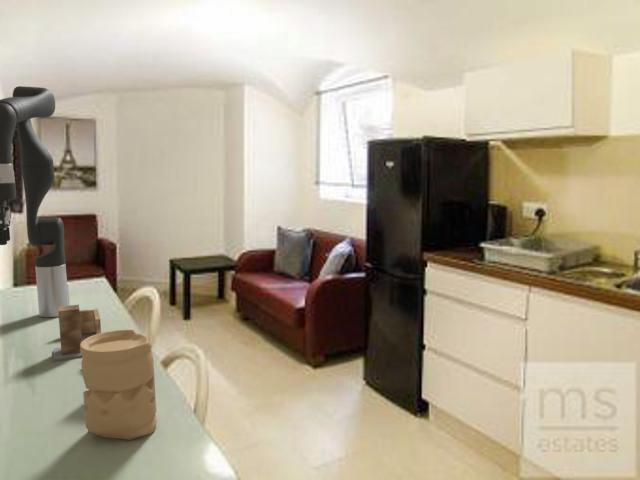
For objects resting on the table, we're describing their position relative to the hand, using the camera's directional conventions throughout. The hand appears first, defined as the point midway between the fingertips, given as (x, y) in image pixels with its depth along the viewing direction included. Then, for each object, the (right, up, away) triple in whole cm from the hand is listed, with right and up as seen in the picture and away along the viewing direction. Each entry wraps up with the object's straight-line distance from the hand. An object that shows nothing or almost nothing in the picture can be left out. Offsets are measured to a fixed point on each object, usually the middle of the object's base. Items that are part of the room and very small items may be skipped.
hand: (3, 242), depth 137 cm
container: (+46, -36, -39) cm, 70 cm away
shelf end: (+15, -28, +15) cm, 35 cm away
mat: (+17, -30, +3) cm, 34 cm away
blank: (+17, -29, +3) cm, 34 cm away
